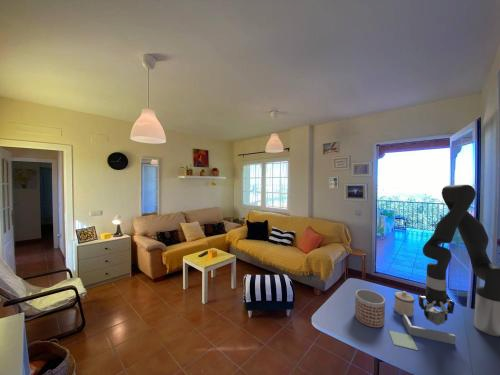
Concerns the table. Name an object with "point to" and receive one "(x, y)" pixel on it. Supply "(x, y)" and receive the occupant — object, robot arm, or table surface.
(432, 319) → the dice cube
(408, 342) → the mat
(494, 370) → the table surface
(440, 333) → the pen walls
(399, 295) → the teacup with lid
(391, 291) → the table surface
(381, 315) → the planter
